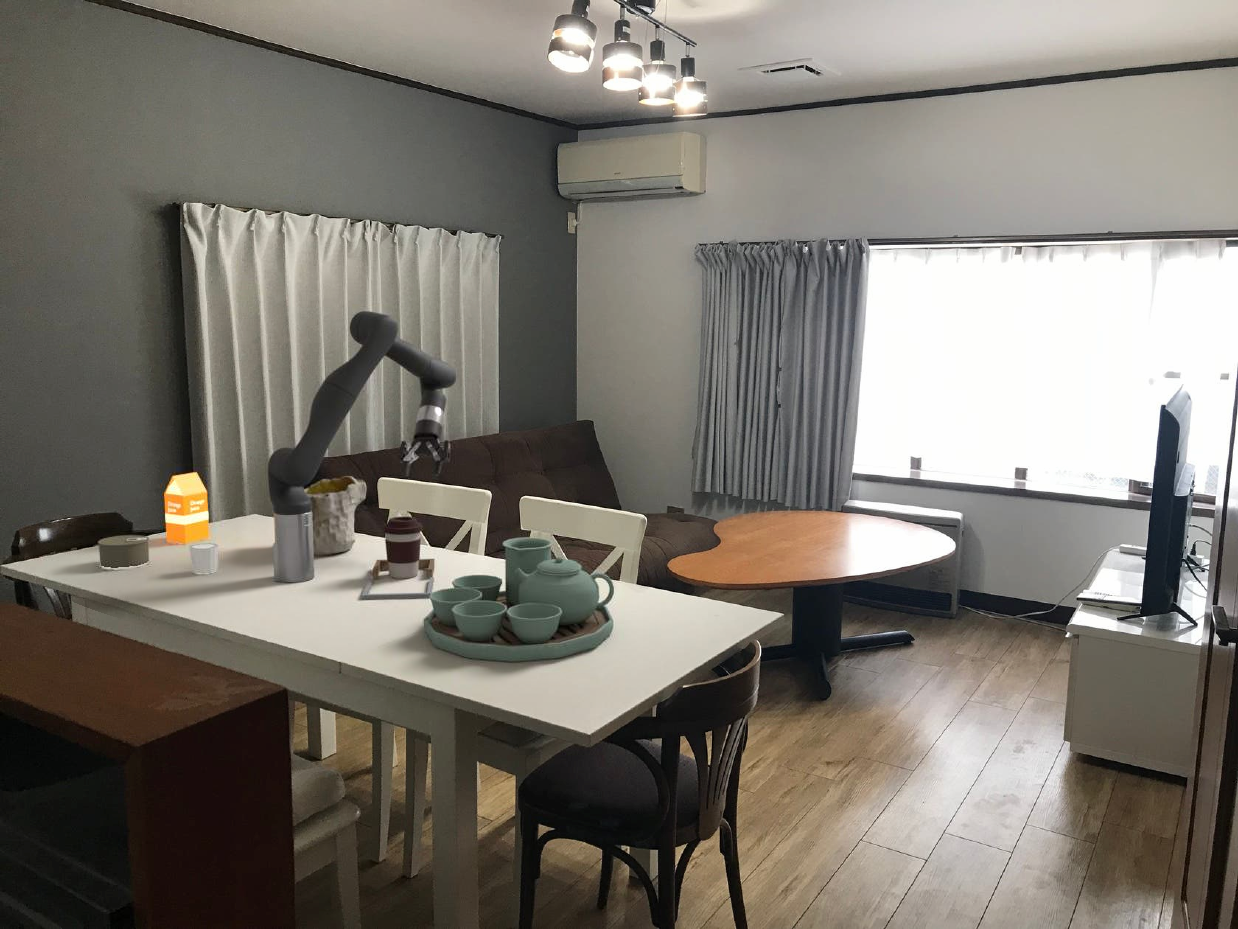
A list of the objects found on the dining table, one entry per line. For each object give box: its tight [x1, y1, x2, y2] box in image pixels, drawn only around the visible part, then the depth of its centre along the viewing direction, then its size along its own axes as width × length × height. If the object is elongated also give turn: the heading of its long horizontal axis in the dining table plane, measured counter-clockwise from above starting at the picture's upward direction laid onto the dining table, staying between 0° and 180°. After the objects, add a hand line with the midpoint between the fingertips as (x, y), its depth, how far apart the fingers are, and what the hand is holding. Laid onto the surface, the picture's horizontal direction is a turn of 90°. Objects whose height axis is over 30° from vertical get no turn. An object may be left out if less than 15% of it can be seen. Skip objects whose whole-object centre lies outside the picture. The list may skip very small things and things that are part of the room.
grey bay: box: [361, 576, 435, 600], centre depth 234 cm, size 16×15×1 cm
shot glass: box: [189, 542, 219, 574], centre depth 248 cm, size 7×7×7 cm
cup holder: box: [371, 558, 435, 581], centre depth 249 cm, size 15×12×2 cm
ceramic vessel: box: [304, 475, 367, 557], centre depth 272 cm, size 23×24×25 cm
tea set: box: [423, 536, 615, 663], centre depth 203 cm, size 40×40×16 cm
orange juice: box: [163, 471, 210, 544], centre depth 282 cm, size 8×9×20 cm
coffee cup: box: [382, 516, 423, 580], centre depth 246 cm, size 10×10×15 cm
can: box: [97, 534, 150, 568], centre depth 254 cm, size 12×12×7 cm
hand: (420, 475), depth 264 cm, fingers open, 8 cm apart
